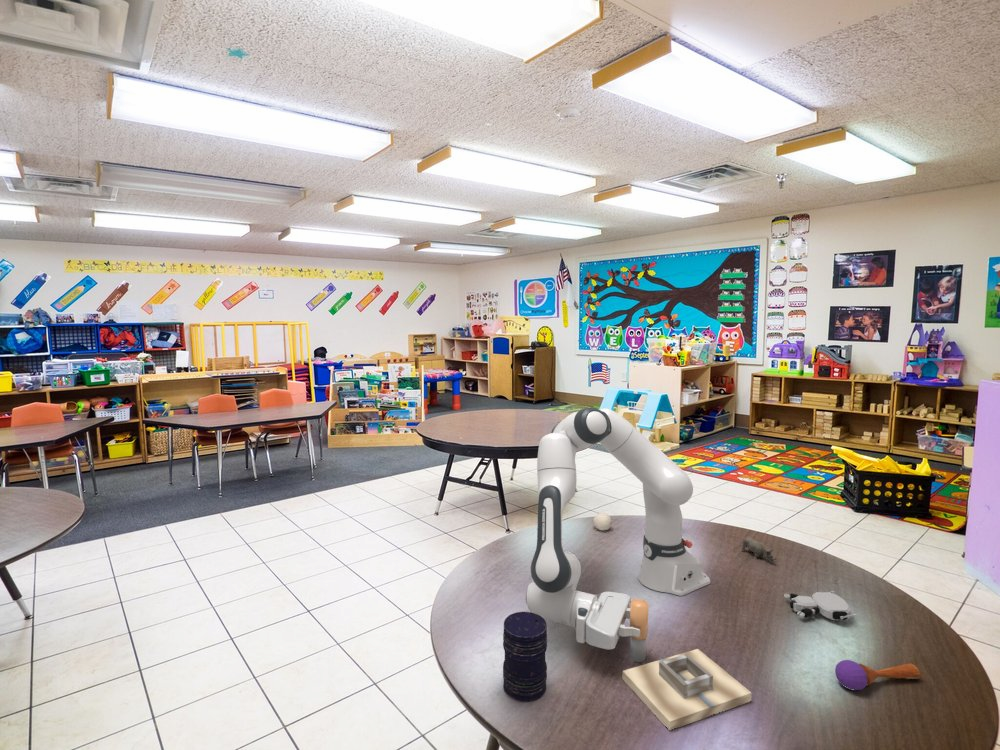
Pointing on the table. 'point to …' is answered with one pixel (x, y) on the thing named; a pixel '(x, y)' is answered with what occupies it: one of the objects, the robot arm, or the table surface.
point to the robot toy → (820, 605)
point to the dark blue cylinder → (525, 656)
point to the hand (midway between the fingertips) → (642, 625)
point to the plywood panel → (685, 688)
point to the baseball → (602, 521)
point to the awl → (640, 620)
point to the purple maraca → (870, 673)
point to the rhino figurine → (757, 549)
